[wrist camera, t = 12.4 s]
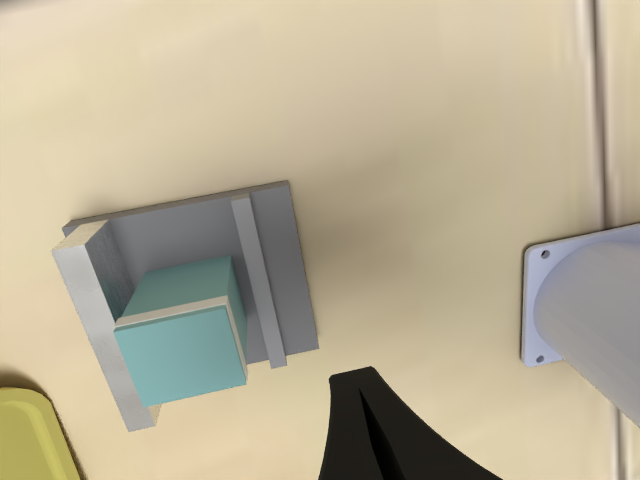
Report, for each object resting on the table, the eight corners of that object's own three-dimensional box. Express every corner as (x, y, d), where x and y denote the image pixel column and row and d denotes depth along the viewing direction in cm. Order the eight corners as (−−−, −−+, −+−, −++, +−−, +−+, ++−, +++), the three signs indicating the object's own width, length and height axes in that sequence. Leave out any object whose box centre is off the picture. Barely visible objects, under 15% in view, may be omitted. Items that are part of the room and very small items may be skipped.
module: (231, 253, 20) (226, 307, 16) (248, 318, 22) (247, 385, 17) (143, 271, 20) (111, 331, 15) (166, 336, 21) (142, 409, 17)
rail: (108, 219, 19) (83, 244, 16) (167, 381, 22) (155, 425, 19) (80, 224, 19) (50, 250, 16) (143, 387, 22) (128, 431, 19)
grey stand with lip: (287, 180, 20) (290, 190, 19) (316, 337, 24) (321, 357, 22) (70, 220, 20) (54, 234, 18) (133, 377, 23) (123, 401, 21)
